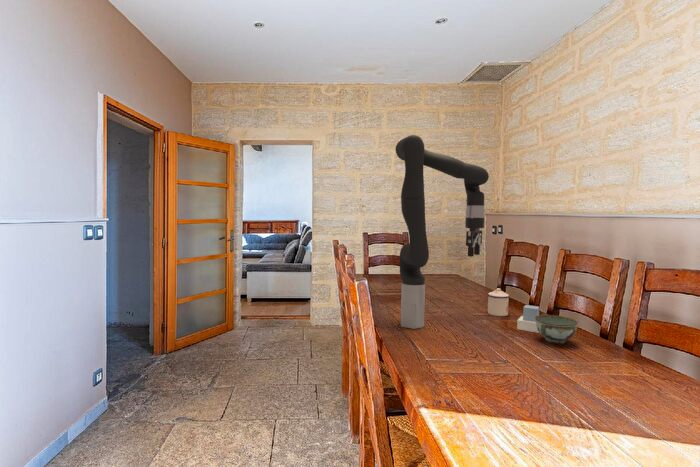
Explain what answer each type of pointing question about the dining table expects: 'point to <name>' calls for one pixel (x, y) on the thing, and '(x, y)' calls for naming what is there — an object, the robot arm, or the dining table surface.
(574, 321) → the bowl
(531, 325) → the slab
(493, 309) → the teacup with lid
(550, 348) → the dining table surface
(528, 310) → the cube
